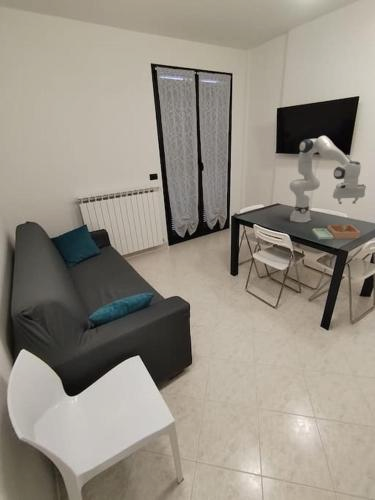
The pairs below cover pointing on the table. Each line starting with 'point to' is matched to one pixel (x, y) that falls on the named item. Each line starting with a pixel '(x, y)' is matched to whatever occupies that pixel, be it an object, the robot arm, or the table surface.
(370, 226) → the table surface
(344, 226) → the birch cylinder
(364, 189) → the robot arm
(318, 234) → the green tray
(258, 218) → the table surface
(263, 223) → the table surface
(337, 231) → the orange hollow square box
